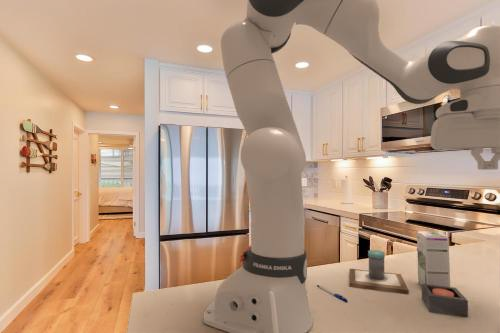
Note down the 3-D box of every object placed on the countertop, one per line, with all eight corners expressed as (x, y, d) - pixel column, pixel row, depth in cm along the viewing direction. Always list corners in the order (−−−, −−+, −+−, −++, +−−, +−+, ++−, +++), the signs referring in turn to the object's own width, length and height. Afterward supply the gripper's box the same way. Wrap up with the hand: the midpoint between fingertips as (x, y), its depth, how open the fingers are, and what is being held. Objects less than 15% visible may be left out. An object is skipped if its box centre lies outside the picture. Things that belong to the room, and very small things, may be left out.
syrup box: (451, 294, 70) (450, 236, 70) (425, 292, 71) (424, 235, 71) (440, 285, 75) (439, 231, 76) (416, 283, 77) (416, 230, 77)
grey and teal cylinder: (368, 279, 76) (368, 253, 76) (367, 273, 80) (367, 249, 80) (385, 281, 75) (385, 254, 75) (383, 275, 79) (383, 250, 79)
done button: (435, 304, 62) (435, 294, 62) (430, 296, 65) (430, 287, 65) (456, 307, 60) (456, 297, 60) (450, 299, 64) (450, 289, 64)
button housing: (429, 311, 61) (429, 295, 61) (421, 298, 67) (421, 283, 67) (468, 317, 58) (467, 300, 58) (456, 302, 65) (455, 287, 65)
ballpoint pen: (348, 303, 65) (349, 298, 65) (346, 303, 65) (346, 299, 65) (318, 287, 75) (318, 283, 75) (315, 287, 74) (315, 283, 74)
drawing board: (349, 286, 74) (349, 281, 74) (349, 271, 86) (349, 267, 86) (408, 294, 70) (408, 289, 70) (400, 277, 81) (400, 273, 81)
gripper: (539, 104, 59) (541, 169, 59) (427, 111, 66) (429, 170, 66) (560, 96, 53) (562, 168, 53) (435, 105, 60) (436, 169, 60)
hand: (487, 169), depth 59 cm, fingers closed
